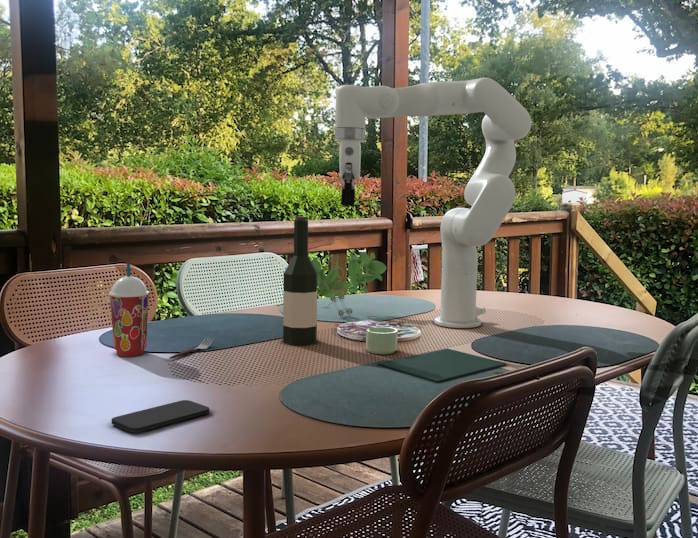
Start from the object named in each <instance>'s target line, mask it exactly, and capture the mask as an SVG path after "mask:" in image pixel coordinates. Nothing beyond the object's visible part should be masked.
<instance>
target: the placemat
mask: <svg viewBox="0 0 698 538" xmlns="http://www.w3.org/2000/svg"><path fill="white" fill-rule="evenodd" d="M377 365H378V366H380V367H384V368H386V369H387V368H388V369H391V370H394V371H397V372H401V373H404V374H408V375H410V376H414V377H417V378H421V379H424V380H428V381H430V382H434V383H441V382H446V381H448V380H452V379H453V380H454V379H457V378H460V377H464V376H468V375H472V374H477V373H480V372H484V371H488V370H492V369H496V368H500V367H504V366H506V365H507V362H502V361H499V360H494V359H491V358H486V357H483V356H479V355H475V354H470V353H467V352H462V351H458V350H455V349H451V348H443V349H439V350H434V351H429V352H423V353H420V354H414V355H410V356H406V357H401V358H396V359H391V360H387V361H382V362H378V364H377Z"/></svg>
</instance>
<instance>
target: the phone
mask: <svg viewBox="0 0 698 538" xmlns="http://www.w3.org/2000/svg"><path fill="white" fill-rule="evenodd" d="M209 413H210V407H209V406H206V405H203V404H201V403H198V402H195V401H192V400H188V399H182V400H177V401H174V402H169V403H166V404H162V405H158V406H154V407H153V406H152V407H149V408H146V409H141V410H137V411H134V412H133V411H132V412H129V413H126V414H121V415H117V416H114V417H112V418H111V425H113V426H116V427H118V428H120V429H122V430H125V431H127V432H129V433H141V432H145V431H149V430H153V429H156V428H161V427H163V426H168V425H171V424H174V423H179V422H182V421H185V420H189V419H193V418H198V417H201V416H204V415H207V414H209Z"/></svg>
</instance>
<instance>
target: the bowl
mask: <svg viewBox="0 0 698 538" xmlns="http://www.w3.org/2000/svg"><path fill="white" fill-rule="evenodd" d="M398 334H399V329H397V328H395V327H390V326H370V327H368V328H366V330H365V350H366V351H368V352H369V353H370V354H374V355H390V354H394V353H395V352H396V351H398V338H399V337H398V336H399V335H398Z"/></svg>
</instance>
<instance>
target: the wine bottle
mask: <svg viewBox="0 0 698 538" xmlns="http://www.w3.org/2000/svg"><path fill="white" fill-rule="evenodd" d="M311 261H312V259H311V258H310V257H309V219H307V216H301V215H300V216H295V219H294V220H293V256H292V258H291V259H290V261H289V263H288V265H287V267H286V268H285V270H284V272H283V294H282V295H283V297H282V298H283V302H282V304H283V305H282V306H283V311H282V312H283V313H282V315H283V316H282V317H283V321H282V322H283V324H282V325H283V326H282V328H283V329H282V343H283V344H287V345H290V346H308V345H314V344H316V343H317V340H318V293H317V288H318V284H317V275H318V272H317V271H316V269H315V267H314V265H313V264H312V262H311Z"/></svg>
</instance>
